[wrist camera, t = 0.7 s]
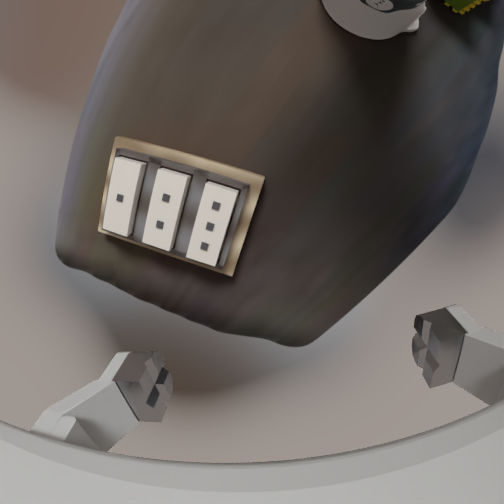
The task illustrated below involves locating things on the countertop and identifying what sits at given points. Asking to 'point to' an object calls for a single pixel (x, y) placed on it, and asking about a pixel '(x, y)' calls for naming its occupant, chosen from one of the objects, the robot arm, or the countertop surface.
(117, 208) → the key one
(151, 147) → the key panel
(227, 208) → the key three
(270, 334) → the countertop surface
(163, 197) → the key two
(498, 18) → the countertop surface
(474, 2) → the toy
